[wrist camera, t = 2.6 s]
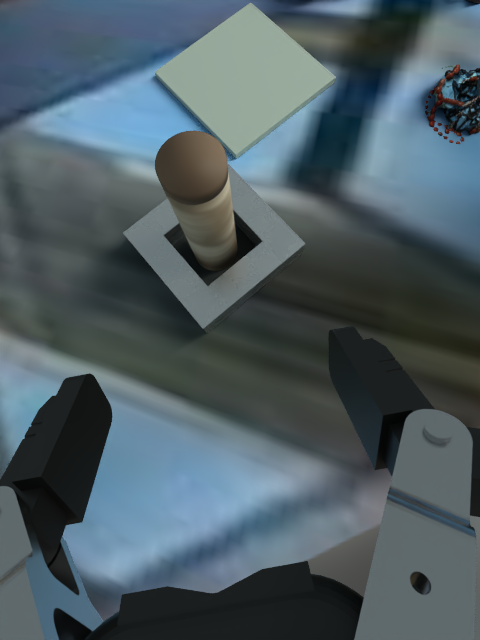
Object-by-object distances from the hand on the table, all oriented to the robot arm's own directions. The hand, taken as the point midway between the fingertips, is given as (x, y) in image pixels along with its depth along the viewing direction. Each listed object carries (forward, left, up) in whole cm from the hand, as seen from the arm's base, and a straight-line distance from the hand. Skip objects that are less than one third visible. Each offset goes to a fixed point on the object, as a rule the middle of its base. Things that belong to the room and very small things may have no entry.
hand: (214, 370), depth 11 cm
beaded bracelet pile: (-34, -6, -17) cm, 38 cm away
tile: (-20, -23, -16) cm, 34 cm away
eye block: (-6, -10, -16) cm, 20 cm away
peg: (-6, -10, -17) cm, 20 cm away
